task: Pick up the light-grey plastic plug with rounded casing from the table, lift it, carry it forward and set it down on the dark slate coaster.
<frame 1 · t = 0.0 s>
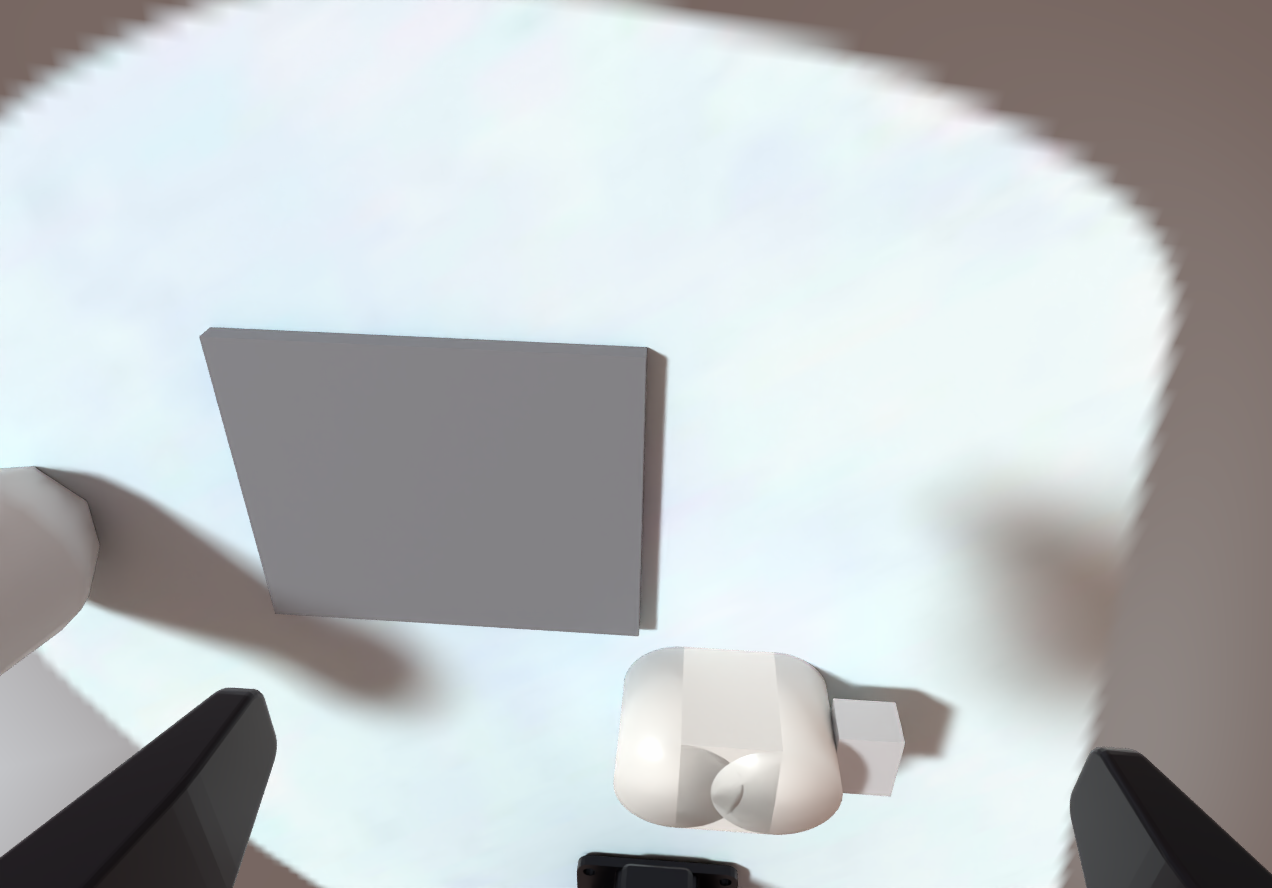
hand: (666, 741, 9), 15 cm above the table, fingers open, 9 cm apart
salt shaker: (40, 513, 28), on the table
plug: (724, 690, 30), on the table
coaster: (444, 488, 26), on the table
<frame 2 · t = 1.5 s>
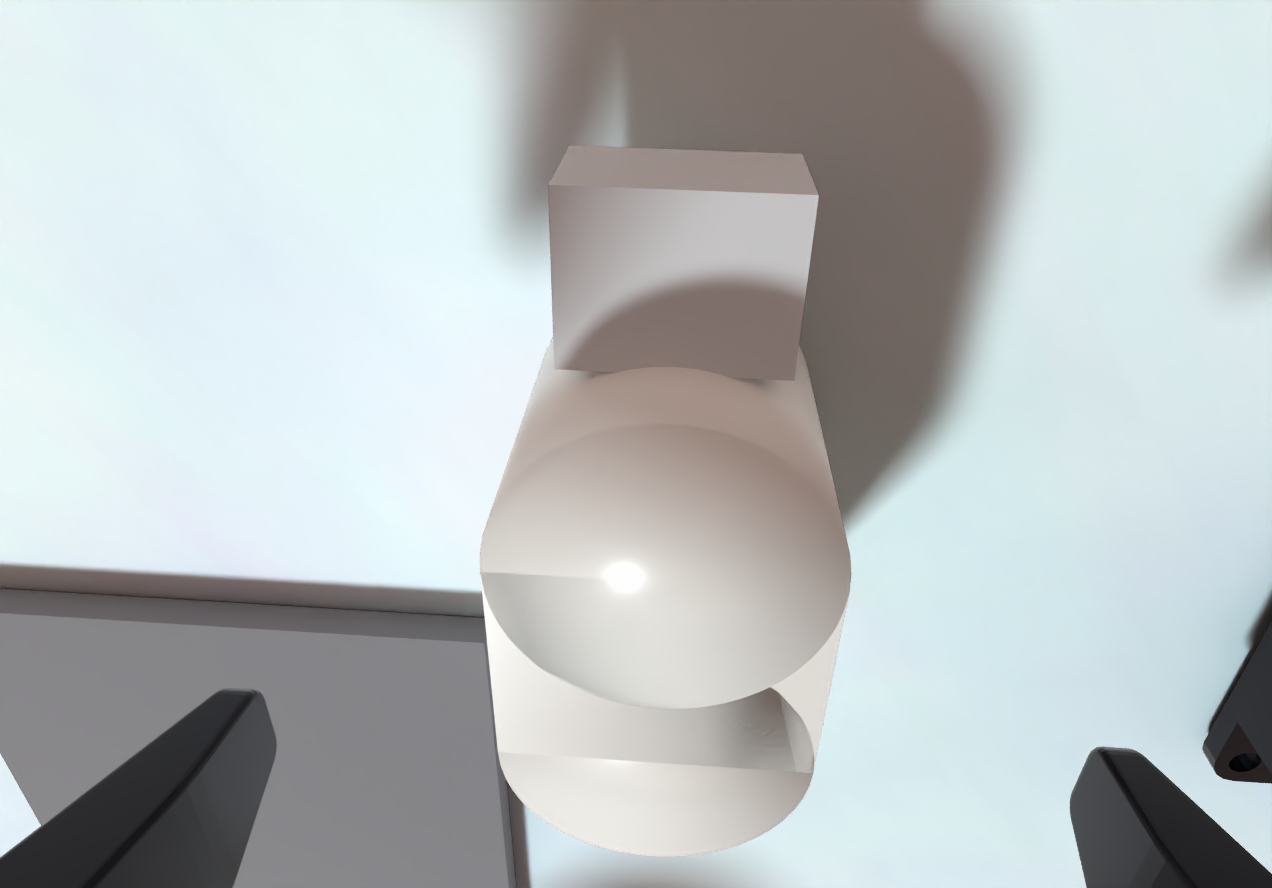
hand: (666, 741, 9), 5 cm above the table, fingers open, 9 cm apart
plug: (668, 485, 14), on the table
coaster: (280, 810, 19), on the table
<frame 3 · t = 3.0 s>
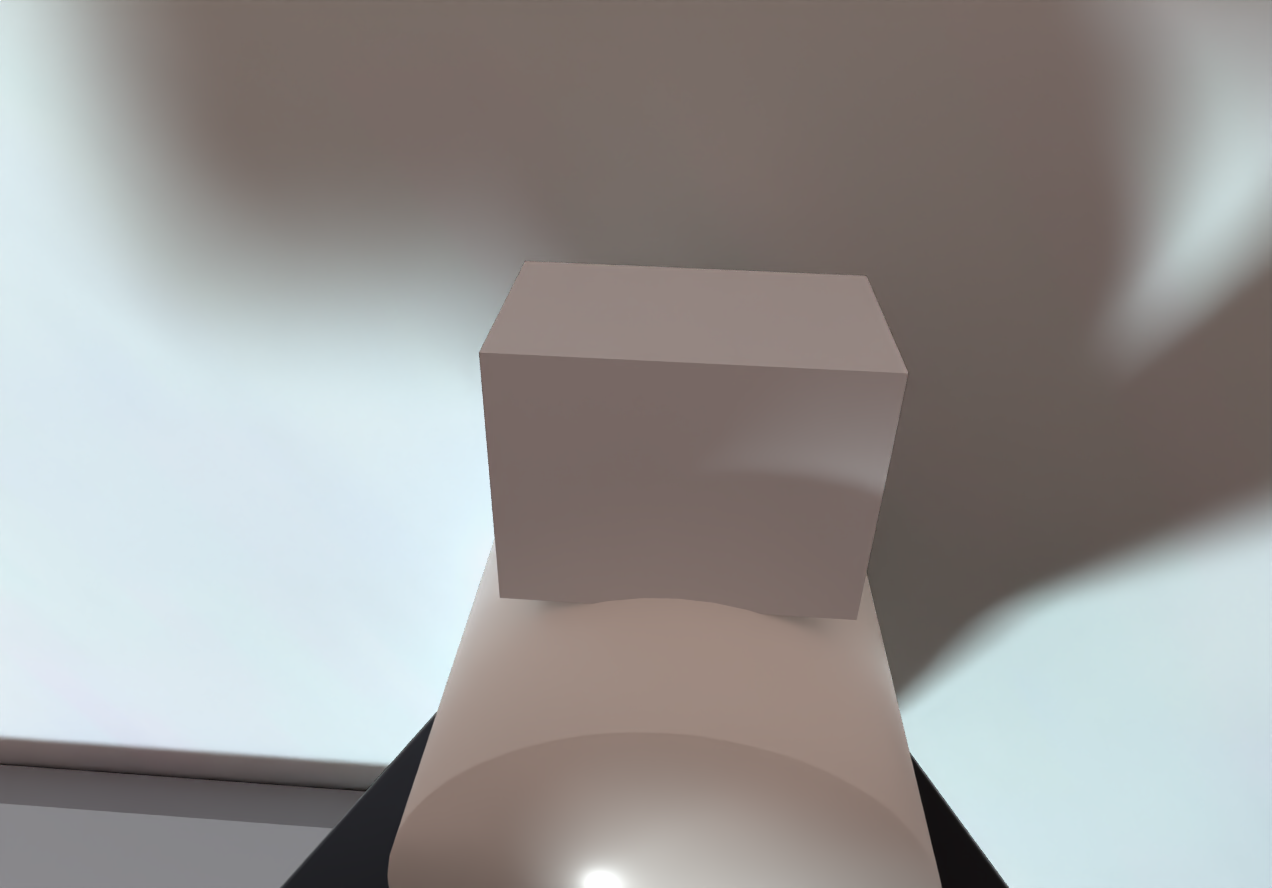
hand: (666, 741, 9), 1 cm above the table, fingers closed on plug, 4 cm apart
plug: (670, 658, 10), on the table, touching gripper
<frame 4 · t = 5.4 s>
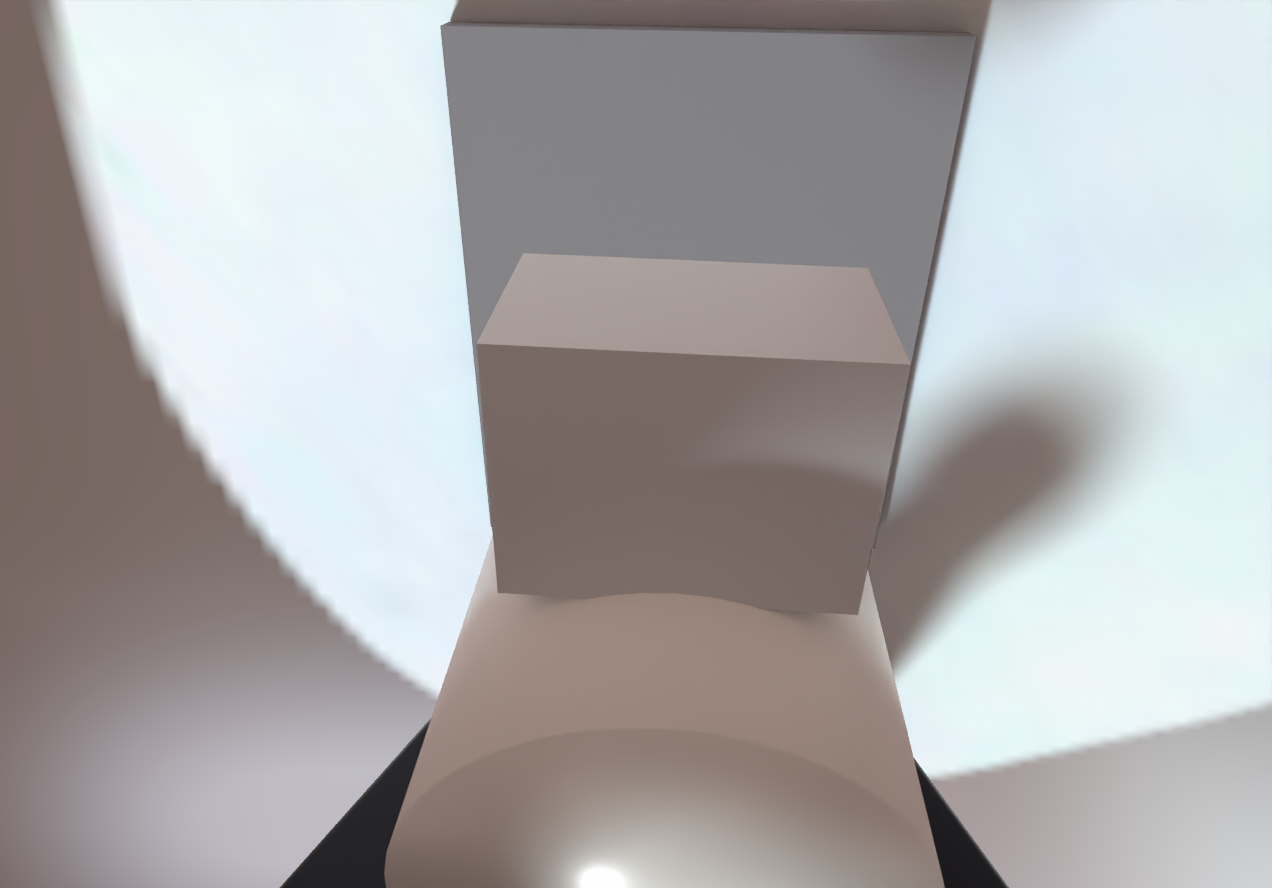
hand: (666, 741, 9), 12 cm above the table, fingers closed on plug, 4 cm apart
plug: (670, 655, 10), point 11 cm above the table, touching gripper
coaster: (690, 315, 20), on the table
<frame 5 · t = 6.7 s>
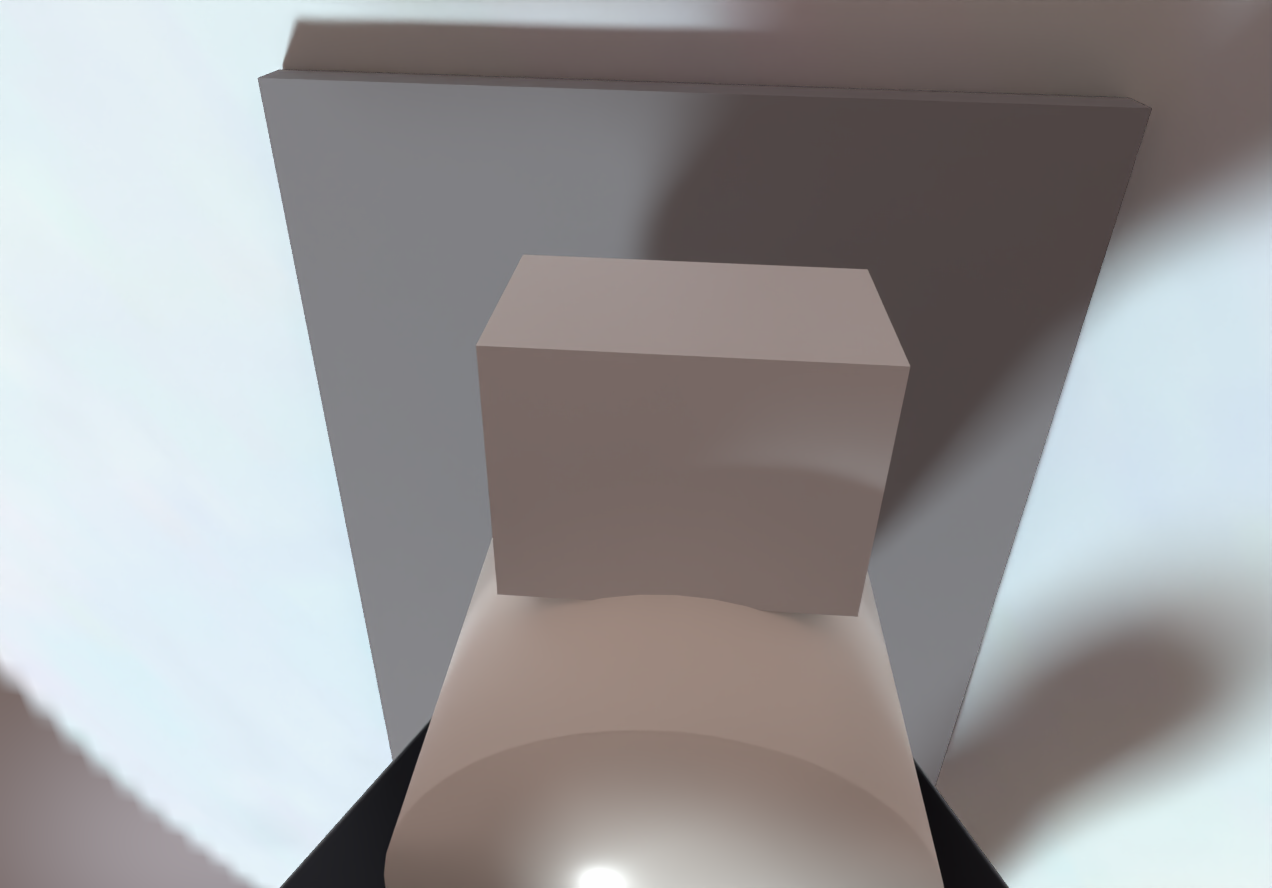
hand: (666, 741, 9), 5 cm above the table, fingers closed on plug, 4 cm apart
plug: (670, 656, 10), point 3 cm above the table, touching gripper
coaster: (672, 497, 13), on the table
when the fingers open (3 cm above the table, at t = 7.9 s): plug stays where it is, resting on coaster.
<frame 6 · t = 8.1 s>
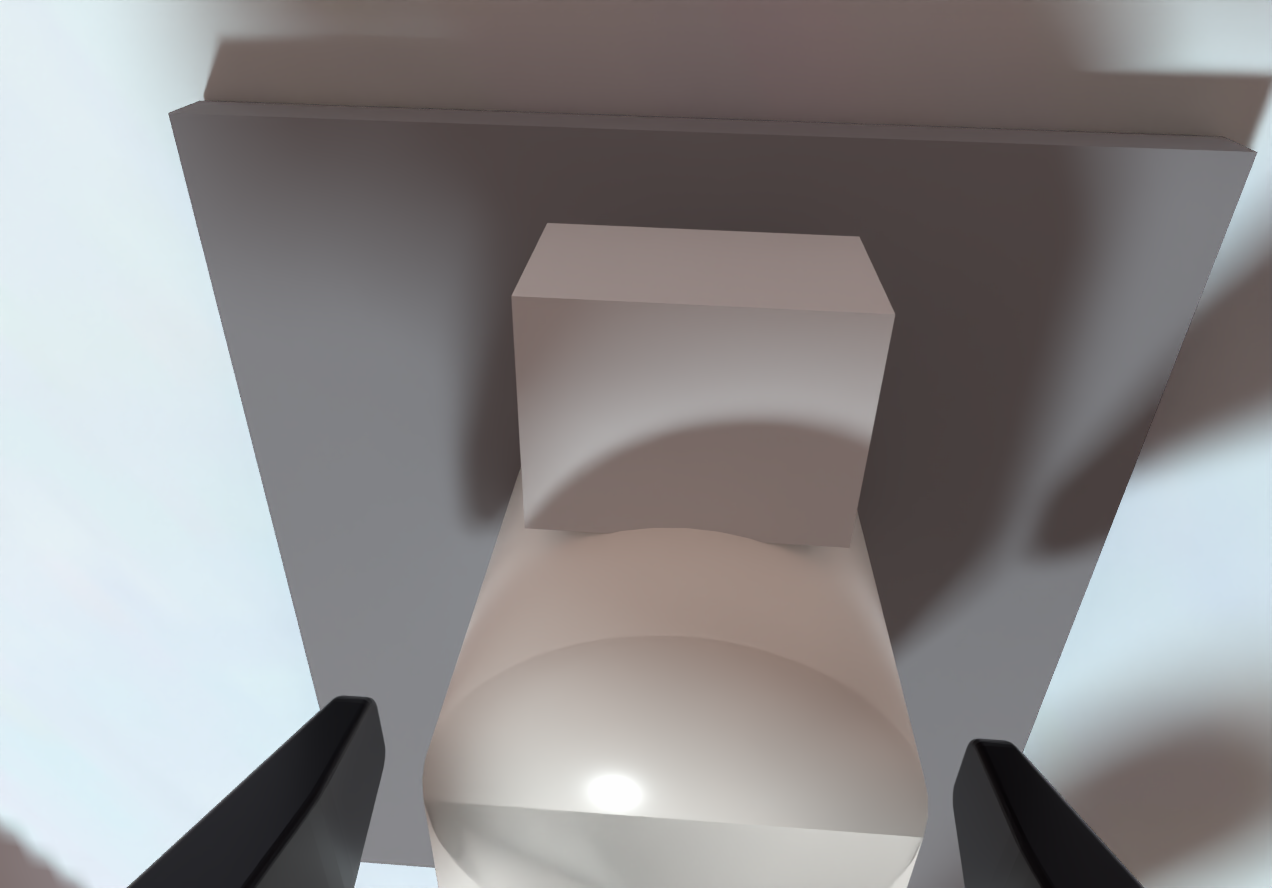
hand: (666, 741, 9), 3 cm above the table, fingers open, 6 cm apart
plug: (675, 611, 11), point 1 cm above the table, touching coaster
coaster: (671, 584, 12), on the table
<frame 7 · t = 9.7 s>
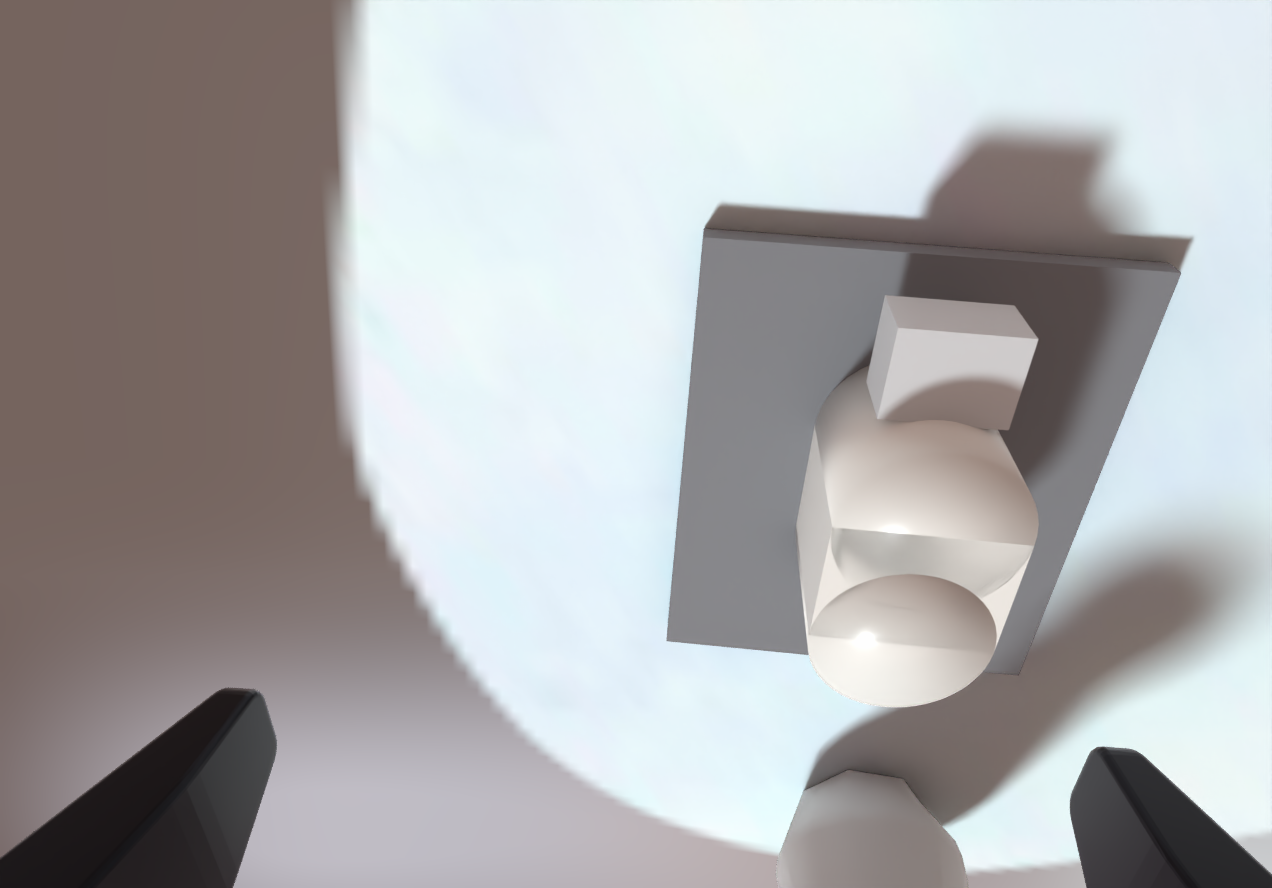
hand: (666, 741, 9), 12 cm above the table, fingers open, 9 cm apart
salt shaker: (859, 803, 29), on the table
plug: (886, 484, 21), point 1 cm above the table, touching coaster
coaster: (879, 473, 22), on the table
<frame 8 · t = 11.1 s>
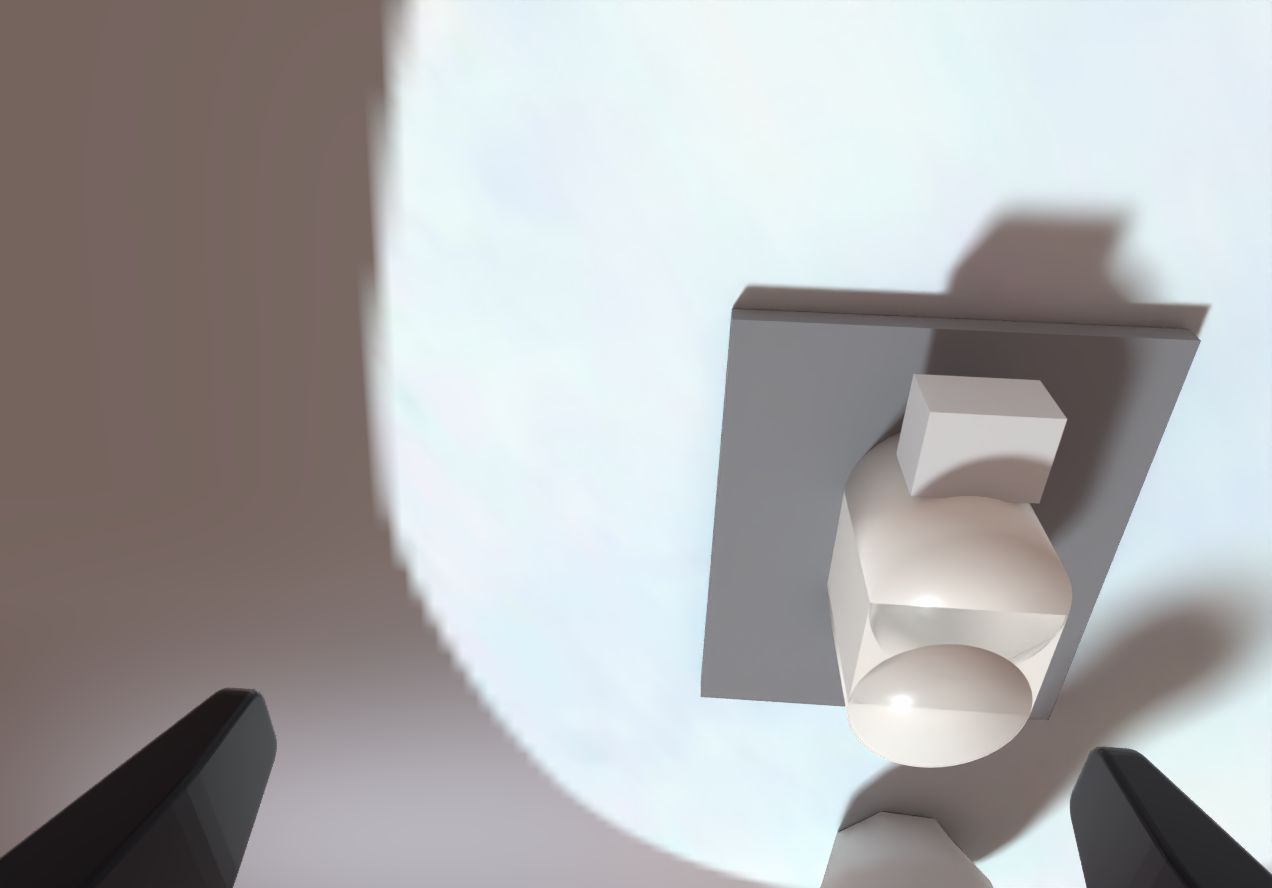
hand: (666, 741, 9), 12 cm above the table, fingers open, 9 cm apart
salt shaker: (892, 842, 30), on the table
plug: (914, 544, 22), point 1 cm above the table, touching coaster
coaster: (907, 532, 22), on the table
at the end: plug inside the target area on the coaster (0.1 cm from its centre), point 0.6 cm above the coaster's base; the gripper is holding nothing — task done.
